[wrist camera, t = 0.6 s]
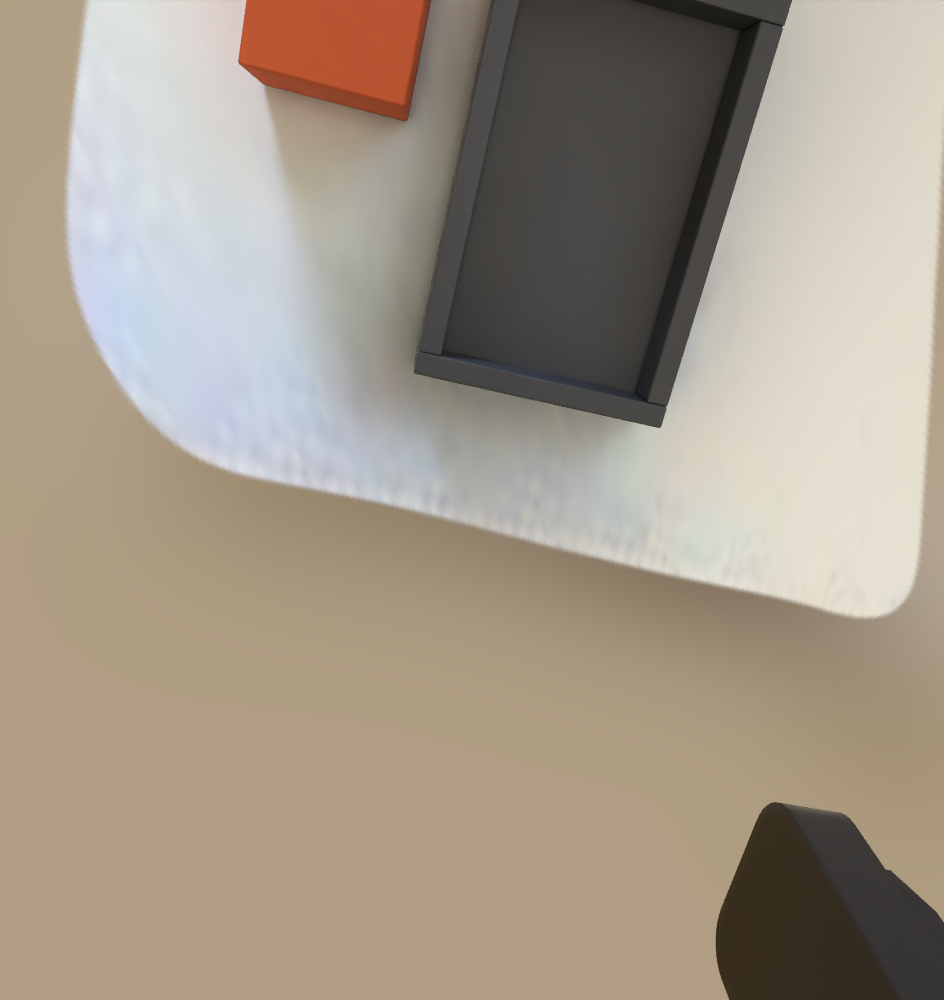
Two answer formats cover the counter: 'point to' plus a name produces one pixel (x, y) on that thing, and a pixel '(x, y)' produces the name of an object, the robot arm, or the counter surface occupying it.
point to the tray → (593, 196)
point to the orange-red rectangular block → (338, 50)
